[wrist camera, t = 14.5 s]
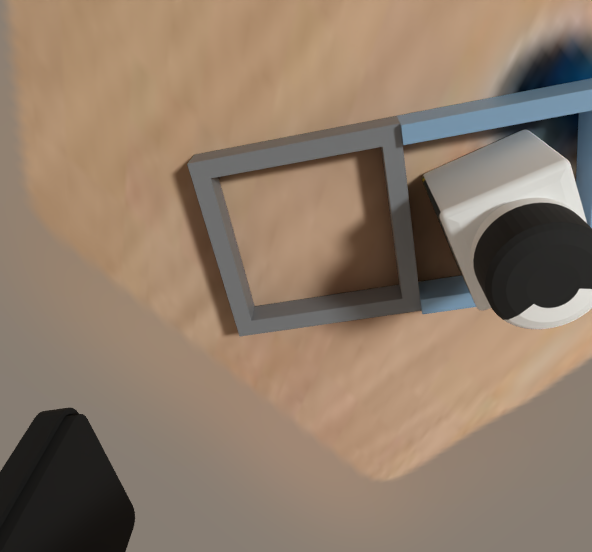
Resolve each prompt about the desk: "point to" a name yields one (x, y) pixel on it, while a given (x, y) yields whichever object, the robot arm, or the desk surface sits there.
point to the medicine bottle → (517, 230)
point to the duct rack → (390, 137)
